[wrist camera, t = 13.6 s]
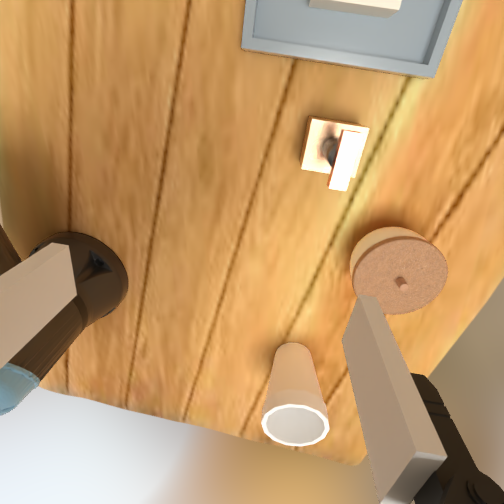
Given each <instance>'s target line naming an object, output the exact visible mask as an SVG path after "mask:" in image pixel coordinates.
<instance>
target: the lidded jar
mask: <svg viewBox="0 0 504 504" xmlns="http://www.w3.org/2000/svg"><path fill="white" fill-rule="evenodd" d="M447 274H448V267H447V263H446V260H445V258H444V256H443V254H442V253H441V252H440V251H439V250H438V249H437V248H436V247H435V246H434V245H433V244H431V243H430V242H429V241H428V240H426V239H425V238H424V237H423V236H421V235H419V234H418V233H416V232H414V231H412V230H409V229H406V228H402V227H383V228H379V229H376V230H374V231H372V232H370V233H368V234H367V235H365V236H364V237H363V238H362V239H361V240H360V241H359V242H358V243H357V244H356V246H355V248H354V250H353V252H352V255H351V258H350V275H351V280H352V285H353V289H354V292H355V294H356V296H357V298H358V295H359V294H360V295H366V296H372V297H376V298H377V300H378V302H379V305H380V307H381V309H382V311H383V314H391V315H396V314H405V313H409V312H413V311H416V310H418V309H420V308H422V307H424V306H426V305H427V304H429V303H430V302H431V301H432V300H434V299H435V298H436V297H437V296H438V294H439V293H440V292H441V290H442V289H443V287H444V285H445V282H446V280H447Z"/></svg>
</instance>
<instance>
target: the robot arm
mask: <svg viewBox="0 0 504 504" xmlns="http://www.w3.org/2000/svg"><path fill="white" fill-rule="evenodd" d="M127 289H128V278H127V274H126V271H125V269H124V267H123V265H122V263H121V261H120V260H119V259H118V257H117V256H116V255H115V254H114V253H113V252H112V251H111V250H110V249H109V248H108V247H107V246H105V245H104V244H103V243H101V242H100V241H98V240H96V239H94V238H92V237H90V236H87V235H84V234H80V233H75V232H62V233H58V234H54V235H52V236H50V237H49V238H47V239H45V240H44V241H42V242H41V243H39V244H38V245H37V246H36V247H35V248H34V249H33V250H32V252H31V253H30V255H29V257H28V258H27V259H26V260H24V261H23V262H22V261H21V259H20V258H19V256H18V254H17V252H16V251H15V249H14V247H13V245H12V244H11V242H10V240H9V239H8V237H7V235H6V233H5V232H4V230H3V228H2V226H1V225H0V416H1V415H4V414H6V413H8V412H10V411H11V410H13V409H14V408H15V407H16V406H17V405H18V404H19V403H20V402H21V401H22V400H23V399H24V398H25V397H26V396H27V395H28V394H29V393H30V392H31V391H32V390H33V389H34V388H36V387H37V386H38V385H39V383H40V381H41V380H42V379H43V378H44V377H45V375H46V374H47V373H48V372H49V371H50V369H51V368H52V367H53V366H54V364H55V363H56V362H57V361H58V360H59V358H60V357H61V356H62V355H63V354H64V352H65V351H66V350H67V349H68V348H69V346H70V345H71V344H72V343H73V342H74V340H75V339H76V338H77V337H78V336H79V334H80V333H81V332H82V331H83V330H84V329H85V327H87V326H89V325H90V324H92V323H93V322H95V321H96V320H98V319H99V318H102V317H104V316H106V315H108V314H110V313H111V312H112V311H114V310H115V309H116V308H117V307H118V305H119V304H120V303H121V302H122V300H123V299H124V297H125V296H126V293H127ZM342 344H343V348H344V353H345V357H346V361H347V366H348V370H349V374H350V379H351V383H352V387H353V392H354V396H355V400H356V405H357V409H358V413H359V418H360V422H361V427H362V431H363V435H364V440H365V444H366V448H367V453H368V456H369V461H370V466H371V470H372V474H373V479H374V483H375V487H376V492H377V496H378V500H379V504H410V503H411V502H412V501H413V500H414V501H415V504H504V491H503V490H502V489H501V488H500V487H499V485H497V484H496V483H495V482H494V481H493V480H492V479H491V478H490V477H488V476H487V475H485V474H483V473H482V472H480V471H479V470H478V468H477V467H476V465H475V463H474V461H473V459H472V457H471V455H470V453H469V451H468V449H467V447H466V445H465V444H464V442H463V440H462V438H461V436H460V434H459V432H458V430H457V428H456V426H455V424H454V422H453V420H452V419H450V414H449V412H448V410H447V408H446V407H445V406H444V403H443V401H442V399H441V397H440V395H439V393H438V391H437V389H436V388H435V387H434V386H433V385H432V383H431V382H430V381H429V380H428V379H427V378H426V377H425V376H424V375H420V374H414V373H410V372H409V369H408V367H407V365H406V363H405V360H404V358H403V356H402V354H401V352H400V349H399V347H398V345H397V343H396V340H395V338H394V336H393V334H392V331H391V329H390V327H389V325H388V322H387V320H386V318H385V316H384V314H383V311H382V309H381V307H380V305H379V302H378V300H377V298H376V297H372V296H366V295H360V294H359V295H358V298H357V301H356V303H355V306H354V309H353V311H352V314H351V317H350V319H349V322H348V325H347V327H346V330H345V333H344V335H343V338H342Z"/></svg>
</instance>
